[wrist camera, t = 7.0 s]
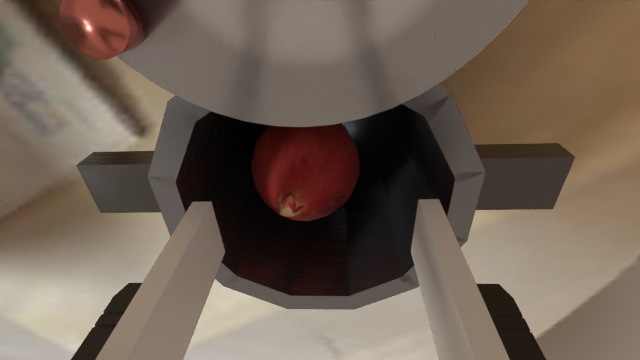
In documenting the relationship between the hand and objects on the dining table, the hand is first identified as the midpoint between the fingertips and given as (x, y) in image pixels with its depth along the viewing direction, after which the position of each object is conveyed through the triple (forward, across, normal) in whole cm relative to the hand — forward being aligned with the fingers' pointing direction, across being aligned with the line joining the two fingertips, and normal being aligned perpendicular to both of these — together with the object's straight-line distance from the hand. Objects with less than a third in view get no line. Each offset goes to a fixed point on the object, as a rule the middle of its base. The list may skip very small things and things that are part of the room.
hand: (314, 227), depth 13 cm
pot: (+10, 0, +1) cm, 10 cm away
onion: (+9, 0, 0) cm, 9 cm away
